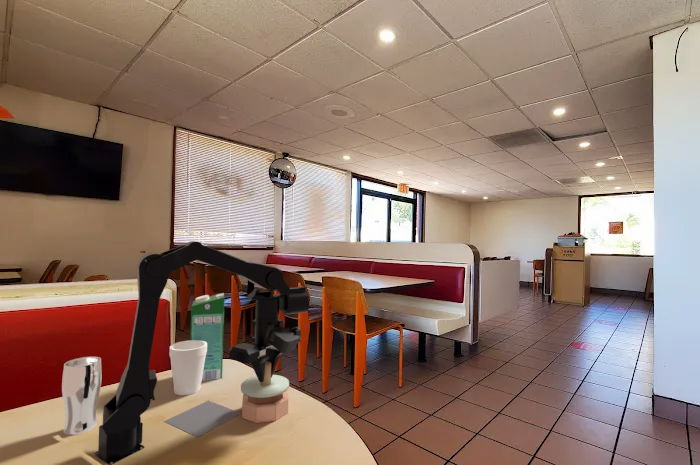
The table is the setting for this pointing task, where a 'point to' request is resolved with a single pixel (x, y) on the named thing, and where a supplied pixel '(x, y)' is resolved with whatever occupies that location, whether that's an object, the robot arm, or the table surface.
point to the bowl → (264, 408)
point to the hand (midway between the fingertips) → (265, 379)
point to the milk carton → (209, 331)
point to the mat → (202, 418)
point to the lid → (265, 385)
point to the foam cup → (187, 365)
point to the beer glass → (81, 393)
